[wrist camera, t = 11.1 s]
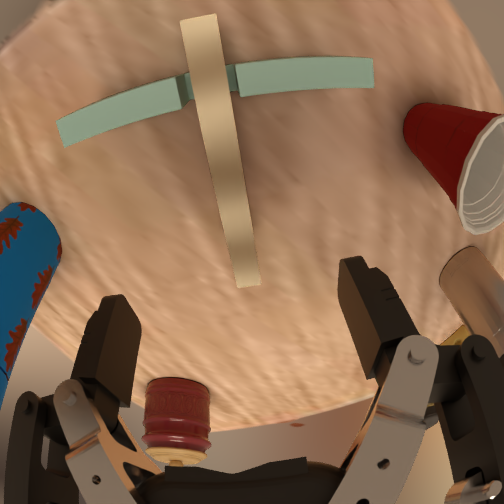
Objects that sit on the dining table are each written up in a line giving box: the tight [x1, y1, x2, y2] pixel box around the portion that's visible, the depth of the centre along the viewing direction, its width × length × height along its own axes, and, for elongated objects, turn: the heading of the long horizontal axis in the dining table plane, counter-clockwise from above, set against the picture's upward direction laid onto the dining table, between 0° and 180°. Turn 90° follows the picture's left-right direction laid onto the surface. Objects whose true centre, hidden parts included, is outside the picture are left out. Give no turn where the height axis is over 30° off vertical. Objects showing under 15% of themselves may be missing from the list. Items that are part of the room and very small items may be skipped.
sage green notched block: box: [56, 56, 374, 148], centre depth 17 cm, size 20×2×8 cm, turn 98°
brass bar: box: [180, 14, 262, 288], centre depth 21 cm, size 20×2×8 cm, turn 8°
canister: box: [142, 378, 211, 467], centre depth 45 cm, size 13×13×18 cm
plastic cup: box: [403, 103, 504, 235], centre depth 19 cm, size 11×11×12 cm
